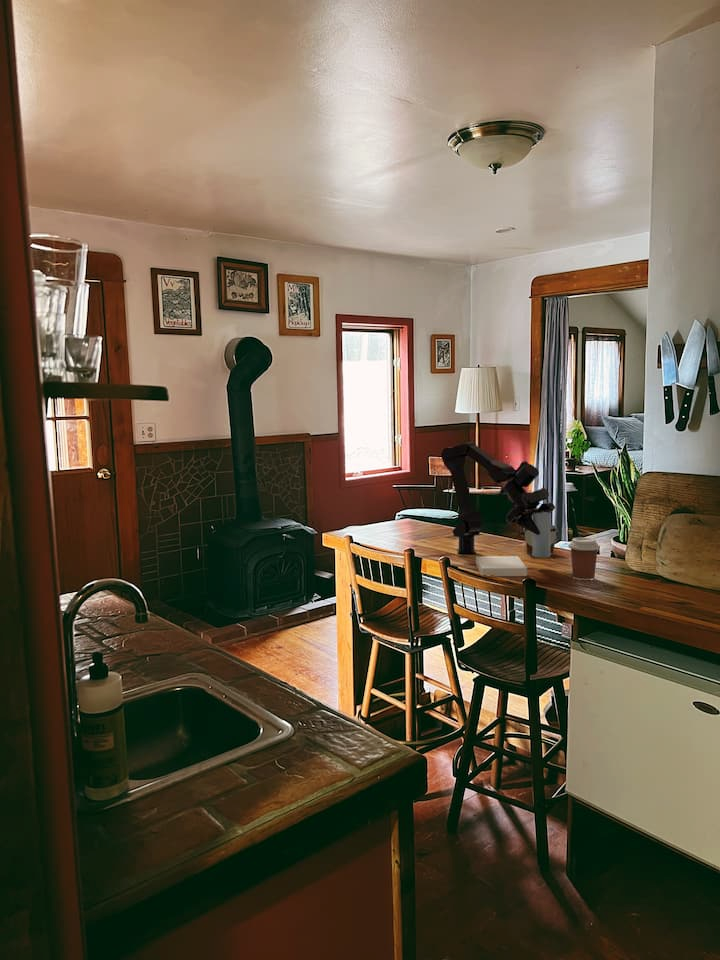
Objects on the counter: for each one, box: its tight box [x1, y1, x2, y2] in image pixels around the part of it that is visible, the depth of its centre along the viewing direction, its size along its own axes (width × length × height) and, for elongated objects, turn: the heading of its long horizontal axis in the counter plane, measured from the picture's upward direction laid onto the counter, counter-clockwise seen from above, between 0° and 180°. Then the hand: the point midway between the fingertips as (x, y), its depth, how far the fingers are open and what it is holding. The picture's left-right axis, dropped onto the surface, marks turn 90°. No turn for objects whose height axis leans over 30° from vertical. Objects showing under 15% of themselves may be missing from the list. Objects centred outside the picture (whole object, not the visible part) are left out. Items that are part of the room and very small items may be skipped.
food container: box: [522, 524, 559, 555], centre depth 255 cm, size 12×6×10 cm, turn 84°
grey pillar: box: [532, 512, 552, 559], centre depth 229 cm, size 6×6×14 cm
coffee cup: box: [568, 537, 601, 581], centre depth 215 cm, size 9×9×12 cm
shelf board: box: [475, 555, 528, 577], centre depth 229 cm, size 18×14×2 cm
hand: (545, 533), depth 228 cm, fingers closed on grey pillar, 6 cm apart
